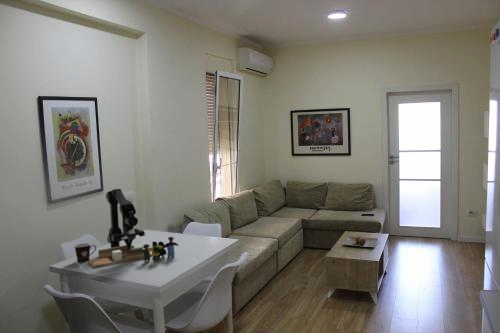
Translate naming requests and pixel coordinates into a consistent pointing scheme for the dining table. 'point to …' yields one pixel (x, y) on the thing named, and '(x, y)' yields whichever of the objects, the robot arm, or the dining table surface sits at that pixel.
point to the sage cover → (137, 246)
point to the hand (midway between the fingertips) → (129, 249)
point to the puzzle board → (106, 260)
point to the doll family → (159, 250)
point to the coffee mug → (83, 252)
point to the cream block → (116, 255)
